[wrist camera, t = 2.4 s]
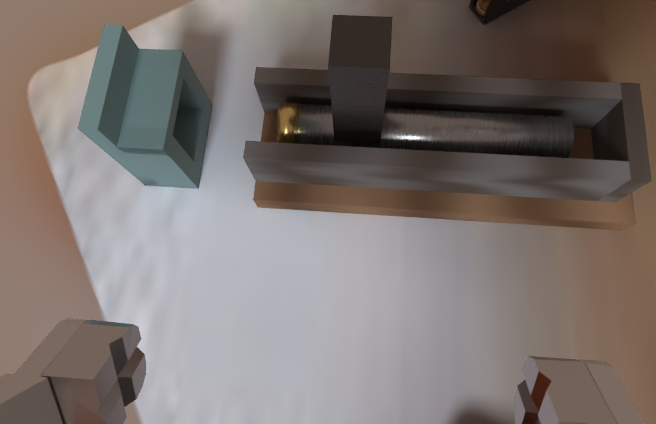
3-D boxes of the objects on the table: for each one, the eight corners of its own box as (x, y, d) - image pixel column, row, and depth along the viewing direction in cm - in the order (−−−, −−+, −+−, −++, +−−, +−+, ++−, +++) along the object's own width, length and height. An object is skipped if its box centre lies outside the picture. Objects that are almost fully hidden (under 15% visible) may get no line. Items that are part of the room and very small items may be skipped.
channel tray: (608, 96, 31) (654, 49, 27) (621, 230, 29) (675, 204, 24) (274, 81, 33) (260, 34, 28) (258, 207, 30) (240, 178, 25)
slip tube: (552, 129, 29) (645, 23, 20) (555, 171, 28) (652, 82, 19) (286, 116, 30) (257, 10, 21) (281, 156, 29) (249, 64, 20)
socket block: (212, 104, 33) (169, 26, 25) (198, 188, 31) (147, 132, 23) (161, 102, 33) (104, 24, 25) (145, 185, 31) (77, 128, 23)
